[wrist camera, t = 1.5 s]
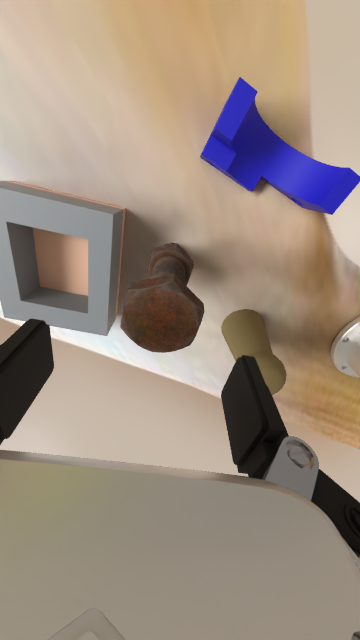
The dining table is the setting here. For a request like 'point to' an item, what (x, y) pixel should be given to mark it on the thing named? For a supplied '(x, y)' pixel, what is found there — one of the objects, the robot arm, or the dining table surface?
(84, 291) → the socket block
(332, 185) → the cable clip
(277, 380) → the cork
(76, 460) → the robot arm
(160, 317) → the bolt
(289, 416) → the dining table surface
